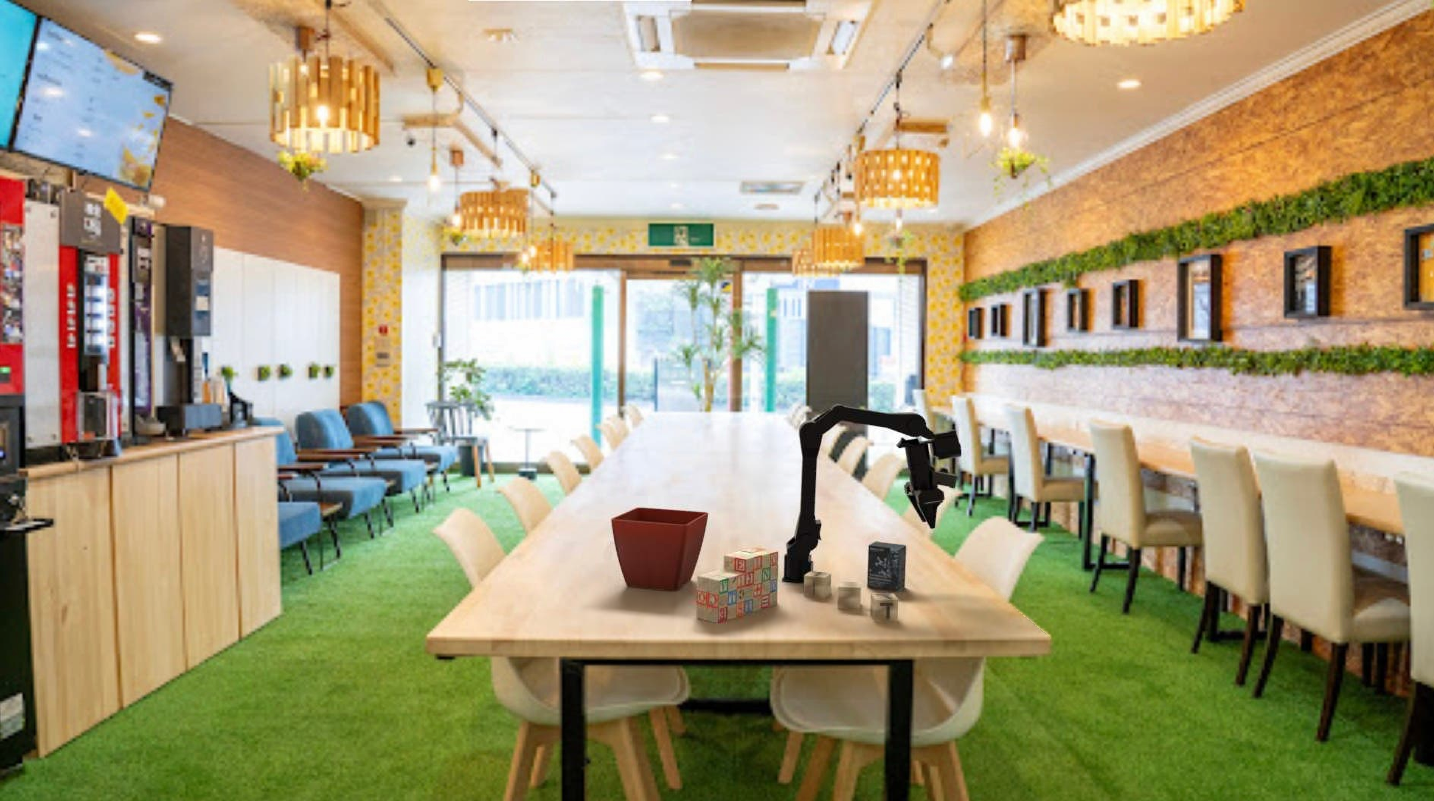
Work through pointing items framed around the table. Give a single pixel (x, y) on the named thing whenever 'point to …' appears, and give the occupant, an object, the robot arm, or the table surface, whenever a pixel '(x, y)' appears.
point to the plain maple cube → (849, 595)
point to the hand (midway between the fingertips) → (928, 525)
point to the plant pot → (658, 546)
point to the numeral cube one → (817, 584)
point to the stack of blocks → (738, 585)
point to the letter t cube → (884, 607)
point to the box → (886, 566)
